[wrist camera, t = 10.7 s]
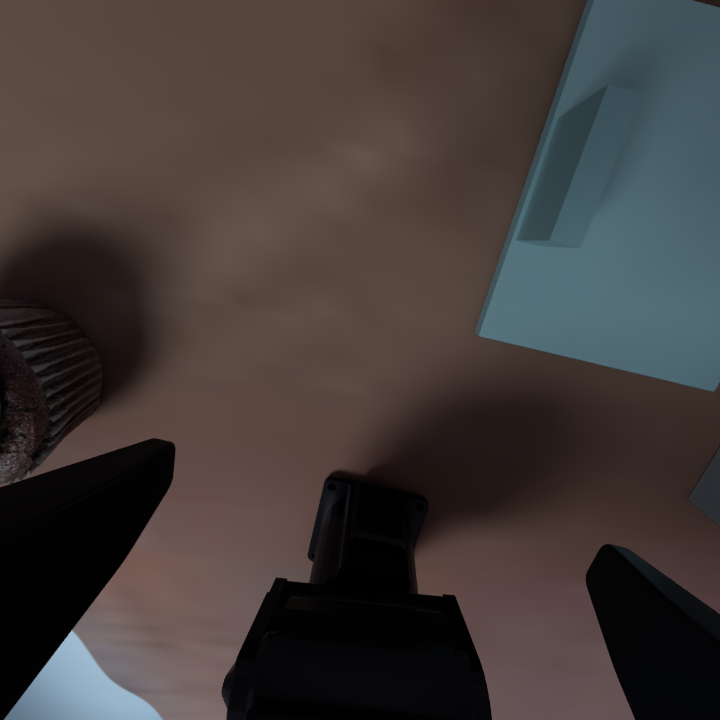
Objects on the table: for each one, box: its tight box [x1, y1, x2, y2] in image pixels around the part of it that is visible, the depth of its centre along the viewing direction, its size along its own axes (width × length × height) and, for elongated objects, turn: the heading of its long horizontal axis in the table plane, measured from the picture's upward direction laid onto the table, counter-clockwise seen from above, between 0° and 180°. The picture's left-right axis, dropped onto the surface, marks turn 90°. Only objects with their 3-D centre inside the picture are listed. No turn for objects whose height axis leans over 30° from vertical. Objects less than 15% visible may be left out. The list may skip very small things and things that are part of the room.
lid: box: [475, 0, 720, 392], centre depth 15 cm, size 14×12×5 cm
